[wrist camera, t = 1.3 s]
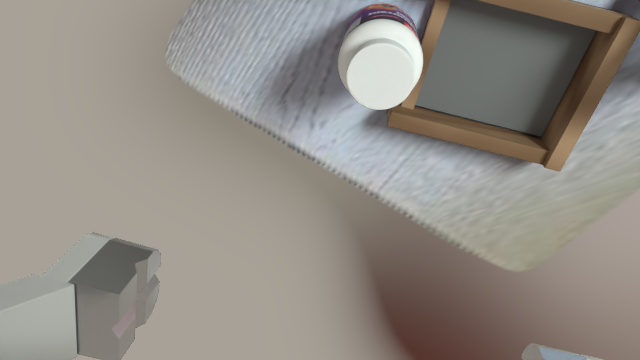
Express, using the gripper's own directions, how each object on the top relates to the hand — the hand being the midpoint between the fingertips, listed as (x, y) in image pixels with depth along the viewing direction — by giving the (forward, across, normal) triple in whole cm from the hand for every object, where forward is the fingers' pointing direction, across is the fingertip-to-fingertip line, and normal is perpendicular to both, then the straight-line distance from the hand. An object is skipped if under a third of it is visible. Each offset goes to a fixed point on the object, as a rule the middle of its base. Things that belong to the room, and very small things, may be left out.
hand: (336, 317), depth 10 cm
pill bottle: (+29, 0, -2) cm, 29 cm away
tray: (+29, -9, -2) cm, 31 cm away
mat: (+29, -9, -2) cm, 31 cm away
